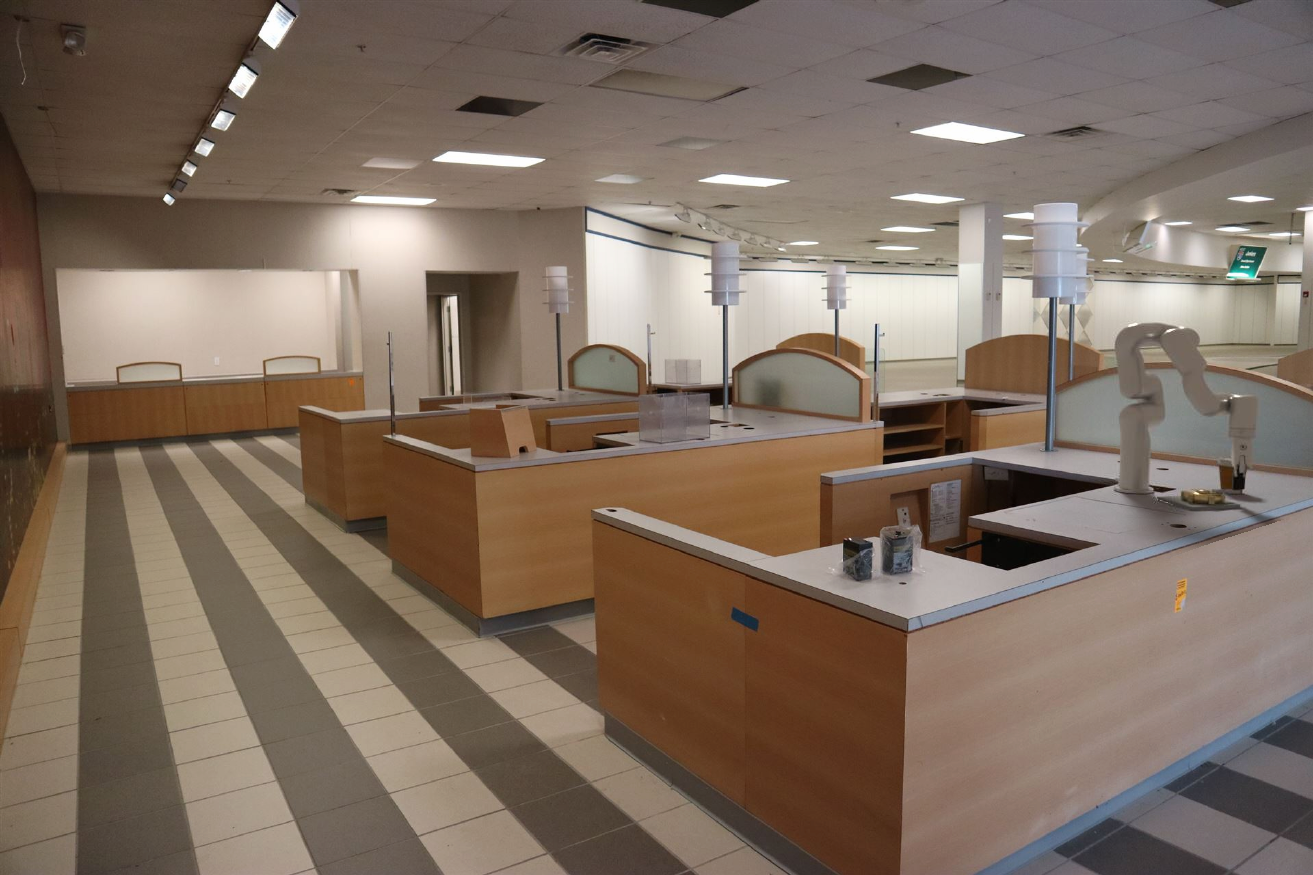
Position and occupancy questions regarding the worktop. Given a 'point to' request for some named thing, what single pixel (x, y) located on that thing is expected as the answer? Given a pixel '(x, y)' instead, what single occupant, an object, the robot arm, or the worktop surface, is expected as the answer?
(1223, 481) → the disposable coffee cup
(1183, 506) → the base plate
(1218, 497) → the gold domed lever dial
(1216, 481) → the worktop surface
